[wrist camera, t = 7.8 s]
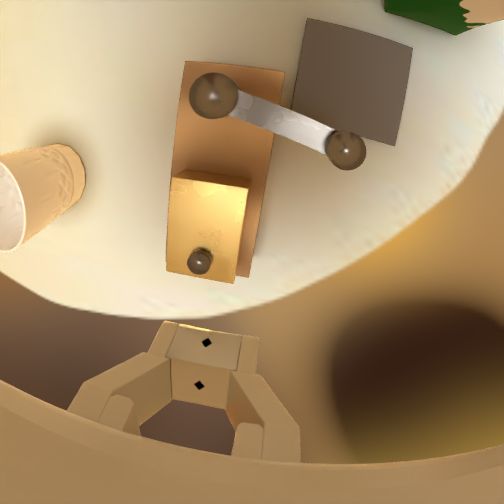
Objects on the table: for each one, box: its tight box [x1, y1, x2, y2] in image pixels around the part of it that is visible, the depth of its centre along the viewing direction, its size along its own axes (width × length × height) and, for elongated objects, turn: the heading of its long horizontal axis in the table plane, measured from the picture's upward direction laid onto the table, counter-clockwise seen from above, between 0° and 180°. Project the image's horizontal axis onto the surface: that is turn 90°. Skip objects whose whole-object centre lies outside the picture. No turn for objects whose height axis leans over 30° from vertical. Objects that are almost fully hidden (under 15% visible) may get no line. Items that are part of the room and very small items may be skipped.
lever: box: [189, 72, 366, 170], centre depth 17 cm, size 10×3×4 cm, turn 69°
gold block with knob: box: [166, 169, 252, 284], centre depth 23 cm, size 7×5×4 cm
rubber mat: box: [291, 18, 413, 146], centre depth 22 cm, size 9×9×1 cm
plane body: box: [166, 61, 285, 278], centre depth 24 cm, size 16×7×7 cm, turn 171°
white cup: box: [0, 144, 85, 253], centre depth 24 cm, size 8×8×10 cm
